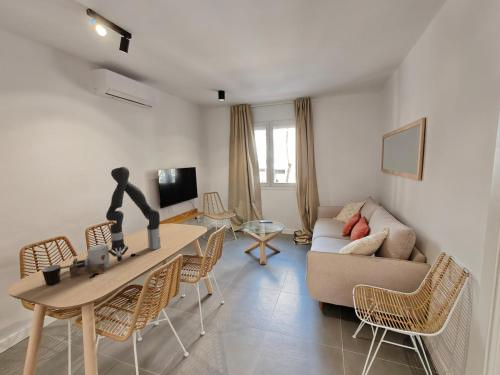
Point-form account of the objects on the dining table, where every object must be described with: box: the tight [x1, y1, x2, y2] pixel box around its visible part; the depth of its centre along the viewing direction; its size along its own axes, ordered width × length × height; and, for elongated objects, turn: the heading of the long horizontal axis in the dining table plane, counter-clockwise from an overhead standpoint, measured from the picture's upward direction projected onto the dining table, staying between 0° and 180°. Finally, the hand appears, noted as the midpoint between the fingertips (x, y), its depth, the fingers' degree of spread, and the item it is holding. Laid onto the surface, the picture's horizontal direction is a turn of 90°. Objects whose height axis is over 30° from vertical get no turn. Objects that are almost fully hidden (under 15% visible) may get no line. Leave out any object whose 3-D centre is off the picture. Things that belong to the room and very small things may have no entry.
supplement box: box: [86, 244, 111, 269], centre depth 153 cm, size 9×9×15 cm
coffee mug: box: [41, 264, 62, 287], centre depth 133 cm, size 12×9×10 cm
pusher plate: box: [61, 255, 89, 270], centre depth 146 cm, size 18×11×8 cm, turn 118°
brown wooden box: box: [68, 257, 106, 279], centre depth 151 cm, size 18×15×7 cm
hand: (119, 260), depth 160 cm, fingers closed
